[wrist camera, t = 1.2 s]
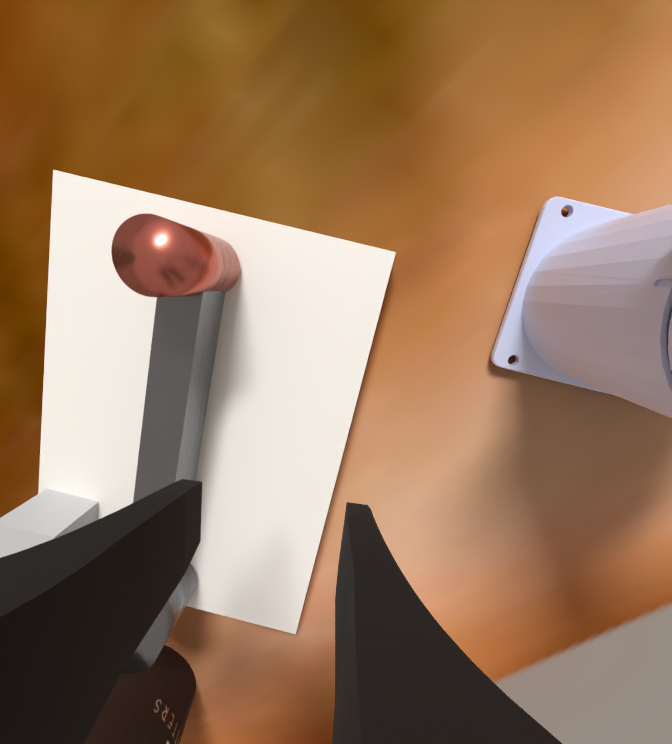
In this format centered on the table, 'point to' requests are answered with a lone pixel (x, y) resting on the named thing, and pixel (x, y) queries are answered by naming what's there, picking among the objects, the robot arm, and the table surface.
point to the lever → (174, 366)
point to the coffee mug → (148, 704)
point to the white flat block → (226, 396)
